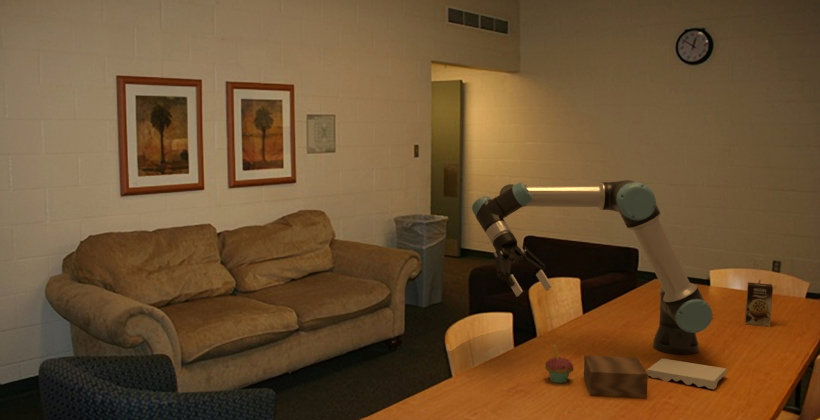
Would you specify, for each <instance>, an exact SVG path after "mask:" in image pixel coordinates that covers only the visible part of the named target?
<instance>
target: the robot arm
mask: <svg viewBox="0 0 820 420" xmlns="http://www.w3.org/2000/svg"><path fill="white" fill-rule="evenodd" d="M523 207H536V208H537V207H538V208H540V207H541V208H542V207H545V208H546V207H551V208H553V207H554V208H556V207H558V208H560V207H562V208H563V207H564V208H572V207H573V208H576V207H577V208H586V207H587V208H599V209H600V210H601V211H613V212H617V213H619V215H620V216H621V219H622V220H623V222H624V224H625V226H626V229H629V230H631V231H633V233H635V236H636V238H637V240H638V241H639V244H640V246H641V248H642V250H643V252H644V253H645V255H646V258H647V259H648V262H649V263H650V265H651V267H652V270H653V272H654V273H655V275H656V277H657V280H658V281H659V283H660V285H661V287H660V291H659V292H660V300H659V302H660V303H659V323H658V325H659V326H658V328H657V331H656V333H655V335H654V338H653V341H652V346H653V348H654V349H655V350H657V351H659V352H662V353H667V354H672V355H692V354H697V353H698V352H699V342H698V341H699V340H698V338H697V335H696V334H697V333H700V332H703V331H705V330H706V329H707V328H708V327H709V326H710V324H711V322H712V320H713V315H714V313H713V310H712V308H711V305H710V304H709V303H708V302H707V301H705V300H704V297H703V294H701V292H700V290H699V287H698V286H697V284H694V283H692V282H690V280H689V278H688V276H687V274H686V272H685V270H684V268H683V266H682V265H681V263H680V260H679V259H678V256H677V254H676V252H675V250H674V248H673V246H672V244H671V242H670V240H669V237H668V236H667V234H666V233H665V230H664V228H663V226H662V224H661V223H660V222H661V221H660V220H659V218H660V216H661V211H660V210H659V209H660V208H659V207H658V205H657V198H656V196H655V193H654V191H653V190H652V189H651V188H650V186H648V185H647V184H645V183H642V182H638V181H634V180H629V179H628V180H627V179H626V180H617V181H610V182H609V181H606V182H605V181H602V182H600V183H599V184H597V185H596V184H593V185H592V184H581V185H580V184H555V185H554V184H547V185H546V184H524V182H522V181H520V182H518V183H516V184H511V183H510V184H506V185H504V186H503V187H502V188H501V189H500V191H499V194H498V195H497V196H495V197H493V198H491V197H490V196H487V195H486V196H482V197H479V198H478V199H476V200H475V201H474V202H473V204H472V205H471V211H472V212H473V214H474V217H475V218H476V220H477V221H478V224H479V225H480V226H481V228H482V230H483V231H484V233H485V234H486V236H487V238H488V239H489V241H490V242H491V244H492V246H493V248H494V249H495V251H494V252H493V254H492V256H493V258H494V261H495V268H496V274H497V275H496V276H497V278H498V279H501V280H502V281H503V282H504V281H506V284H507V285H508V286H509V287H510V288H511V290H512V291H513V293H514V294H515V297H519V296H520V295H521V294H522V293H523V292H524V291H523V289H522V287H521V286H520V284H519V283H518V281H517V278H515V276H514V274H511V270H512V269H511V267H512V264H513V263H518V264H522V265H524V266H525V267H527V268H529V270H531V271H533V272H534V273H536V274H535V276H536V277H537V280H538V281H539V282H540V284H541V285H542V287H543V289H544V290H545V291H546V292H548V291H549V290H550V289H551V288H552V287H553V285H552V283H551V282H550V279H549V278H548V276H547V275H546V273H545V271H544V270H545V268H547V266H546V264H544V262H542V261H541V260H540V259H539V258H538V257H537V256H536V255H534V254H533V253H532V252H531V251H530V250H529V248H528V247H527V246H526V245H524V246H522V247H521V248H520V247H519V245H518V240H517V238H516V237H515V235H514V233H513V232H512V230H511V228H510V227H509V225H508V223H506V221H505V218H507V217H508V216H510V215H512V214H513V213H515V212H516V211H518V210H520V209H522V208H523Z"/></svg>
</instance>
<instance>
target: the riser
mask: <svg viewBox="0 0 820 420" xmlns="http://www.w3.org/2000/svg"><path fill="white" fill-rule="evenodd" d="M583 358H584V362H583V379H584V382H585V384H586V387H587V391H588V393H589V396H595V397H597V396H598V397H616V398H618V397H619V398H638V399H639V398H640V399H641V398H642V399H647V398H648V379H649V376H648V374H647V370H646V369H645V368H644V366H643V364H642V363H641V361H640V359H639V358H638V357H635V356H634V357H632V356H631V357H629V356H609V355H608V356H605V355H584V357H583Z"/></svg>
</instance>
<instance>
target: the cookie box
mask: <svg viewBox="0 0 820 420" xmlns="http://www.w3.org/2000/svg"><path fill="white" fill-rule="evenodd" d="M773 291H774V288H773V284H769V283H759V282H747V291H746V302H745V315H744V324H745V325H749V326H751V325H752V326H761V327H771V317H772V316H771V315H772V304H773V303H772V302H773Z"/></svg>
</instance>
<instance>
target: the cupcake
mask: <svg viewBox="0 0 820 420" xmlns="http://www.w3.org/2000/svg"><path fill="white" fill-rule="evenodd" d="M553 344H554V345H553V350H554V351H553V352H554V357H551V358H549V359H548V360H546V362H545V364H544V365H545V367H544V368H545V369H546V371H547V372H548V374H549V377H550V378H549V379H550V381H551V382H553V383H556V384H564V383H566V382H567V381H568V378H569V375H570V373H572V372H573V371H574V363H572V361H570V359H568V358H566V357H561V356H558V350H557V345H556V343H553Z"/></svg>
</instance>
